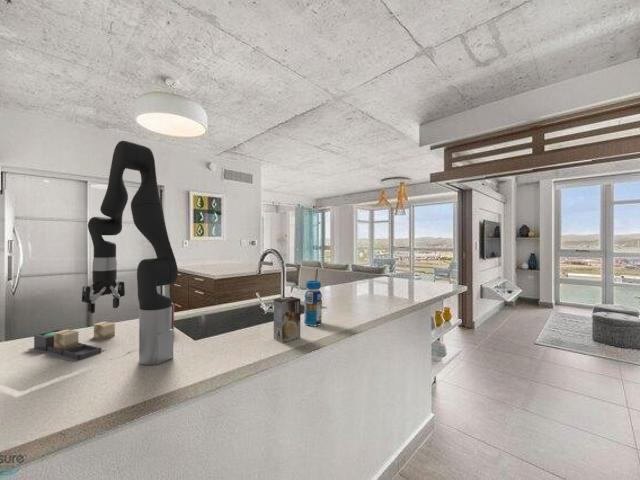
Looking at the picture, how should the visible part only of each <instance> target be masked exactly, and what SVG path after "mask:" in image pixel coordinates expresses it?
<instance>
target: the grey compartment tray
mask: <svg viewBox="0 0 640 480" xmlns="http://www.w3.org/2000/svg"><path fill="white" fill-rule="evenodd" d="M63 330H64V329H60V328H57V329H55V330H54V329H53V330H49V331H45V332H41V333H37V334H34V335H33V339H34V340H33V347H31V348H27V350H29V351H31V352H35V353H39V354H42V355H45V356H46V355H47V356H49V357H51V358H52V357H53V358H56V359H59V360H63V361H65V362H66V361H67V362H70V363H75V362H78V361H81V360H83V359H87V358H90V357H92V356H96V355H98V354H100V353H105V352H106V351H107V350H105V349H102V348H101V347H98V346H95V345H91V344H85V343H83V342H79V341H78V346H75V347H72V348H68V349H65V350H61V349H58V348H54V335H53V336H49V337H47V336H44V335H45V334H47V333H51V332H59V331H63Z"/></svg>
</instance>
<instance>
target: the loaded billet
mask: <svg viewBox="0 0 640 480" xmlns="http://www.w3.org/2000/svg"><path fill="white" fill-rule="evenodd" d="M62 330H63V331H59V332H55V333H54V348H58V349H61V350H65V349H68V348H72V347H75V346H78V342H79V331H76V330H73V329H62Z"/></svg>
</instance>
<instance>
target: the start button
mask: <svg viewBox="0 0 640 480" xmlns="http://www.w3.org/2000/svg"><path fill="white" fill-rule="evenodd" d="M54 333H55V332H51V333H47V334H45V335H44V336H47V337H49V336H53V335H54Z"/></svg>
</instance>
